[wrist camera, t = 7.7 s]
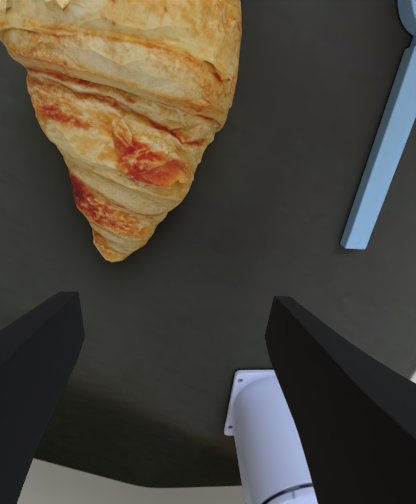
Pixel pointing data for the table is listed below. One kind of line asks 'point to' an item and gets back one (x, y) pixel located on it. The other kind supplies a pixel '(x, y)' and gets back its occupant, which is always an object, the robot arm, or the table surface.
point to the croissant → (127, 99)
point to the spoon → (386, 142)
